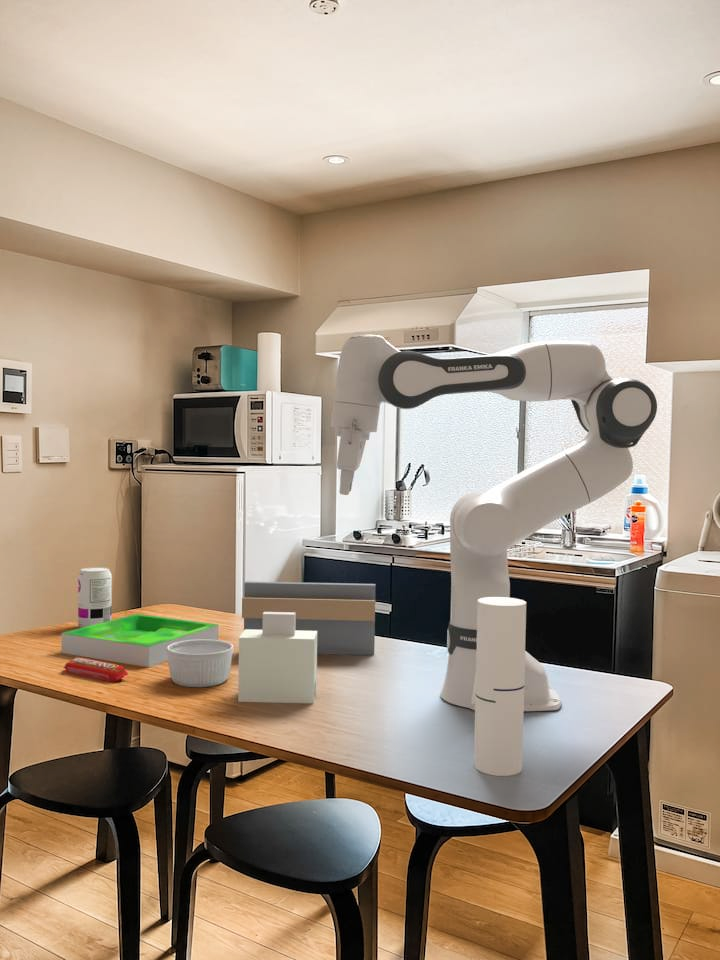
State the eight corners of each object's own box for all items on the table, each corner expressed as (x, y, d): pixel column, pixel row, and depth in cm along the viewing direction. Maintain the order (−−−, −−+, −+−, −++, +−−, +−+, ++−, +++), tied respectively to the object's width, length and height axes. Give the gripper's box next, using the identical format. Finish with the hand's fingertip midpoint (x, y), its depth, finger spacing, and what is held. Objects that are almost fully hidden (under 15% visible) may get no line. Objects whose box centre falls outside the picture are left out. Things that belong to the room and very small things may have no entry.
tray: (149, 669, 177) (149, 646, 177) (61, 655, 188) (61, 633, 188) (218, 645, 199) (218, 624, 199) (136, 633, 210) (136, 613, 210)
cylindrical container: (522, 777, 121) (526, 607, 120) (473, 773, 122) (476, 604, 121) (521, 759, 128) (525, 598, 127) (474, 755, 129) (478, 595, 128)
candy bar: (60, 673, 172) (60, 658, 172) (74, 669, 176) (74, 654, 175) (116, 685, 165) (116, 670, 164) (130, 680, 168) (130, 666, 168)
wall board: (374, 648, 196) (375, 581, 196) (374, 658, 187) (375, 587, 187) (247, 645, 197) (248, 578, 196) (241, 655, 188) (242, 584, 187)
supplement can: (73, 630, 210) (73, 571, 209) (85, 623, 218) (85, 566, 218) (104, 631, 210) (105, 572, 209) (115, 624, 218) (116, 567, 217)
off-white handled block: (316, 692, 161) (317, 610, 160) (313, 703, 154) (314, 617, 153) (244, 690, 161) (245, 608, 161) (238, 701, 154) (239, 616, 154)
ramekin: (214, 668, 177) (214, 635, 177) (245, 682, 167) (245, 648, 167) (155, 677, 169) (156, 644, 169) (184, 693, 159) (184, 657, 159)
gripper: (370, 421, 147) (360, 498, 147) (371, 423, 167) (362, 492, 168) (335, 416, 147) (325, 494, 147) (340, 419, 167) (331, 488, 168)
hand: (345, 493), depth 158 cm, fingers open, 8 cm apart
